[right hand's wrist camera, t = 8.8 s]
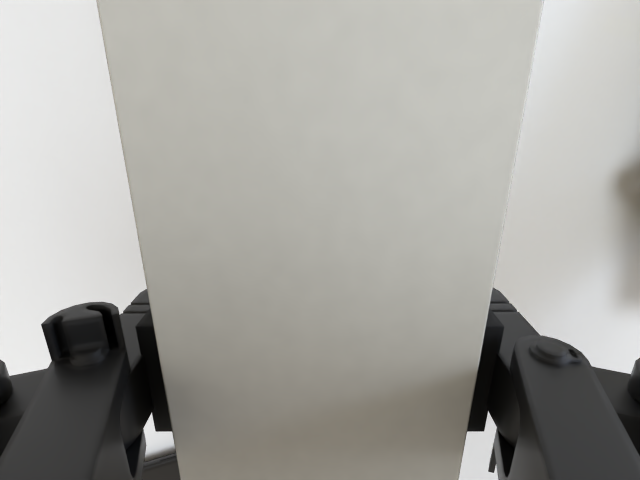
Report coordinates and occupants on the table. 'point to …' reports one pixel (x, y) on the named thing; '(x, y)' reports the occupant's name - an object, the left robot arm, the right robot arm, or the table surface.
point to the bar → (319, 221)
